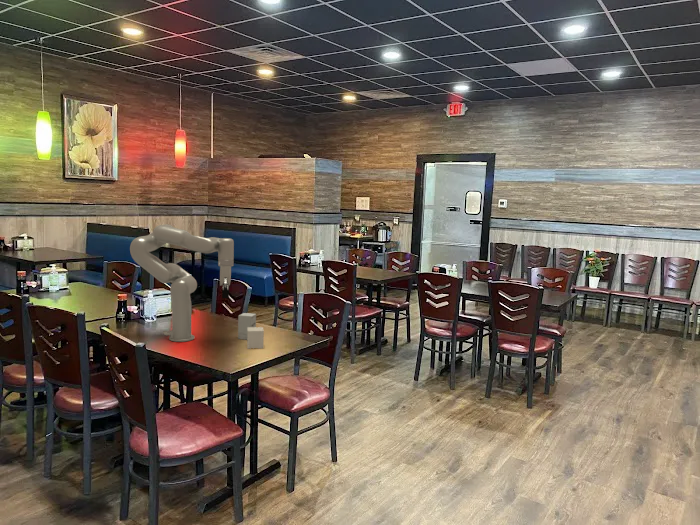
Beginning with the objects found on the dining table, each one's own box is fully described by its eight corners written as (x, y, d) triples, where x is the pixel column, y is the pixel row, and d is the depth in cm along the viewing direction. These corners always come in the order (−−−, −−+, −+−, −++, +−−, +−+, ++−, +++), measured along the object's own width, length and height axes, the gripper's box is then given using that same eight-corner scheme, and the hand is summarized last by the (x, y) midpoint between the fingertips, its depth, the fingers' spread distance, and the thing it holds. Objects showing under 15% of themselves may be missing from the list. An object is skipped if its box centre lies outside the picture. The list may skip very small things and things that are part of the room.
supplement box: (250, 340, 284) (251, 316, 282) (237, 339, 285) (237, 315, 284) (256, 336, 291) (256, 313, 290) (243, 335, 292) (243, 312, 291)
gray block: (247, 348, 268) (247, 331, 267) (247, 344, 275) (247, 327, 274) (263, 348, 269) (263, 330, 268) (262, 344, 277) (262, 327, 276)
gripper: (218, 260, 283) (218, 293, 285) (217, 265, 266) (217, 299, 268) (233, 260, 285) (233, 293, 287) (233, 265, 268) (233, 299, 270)
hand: (225, 296), depth 277 cm, fingers open, 9 cm apart
